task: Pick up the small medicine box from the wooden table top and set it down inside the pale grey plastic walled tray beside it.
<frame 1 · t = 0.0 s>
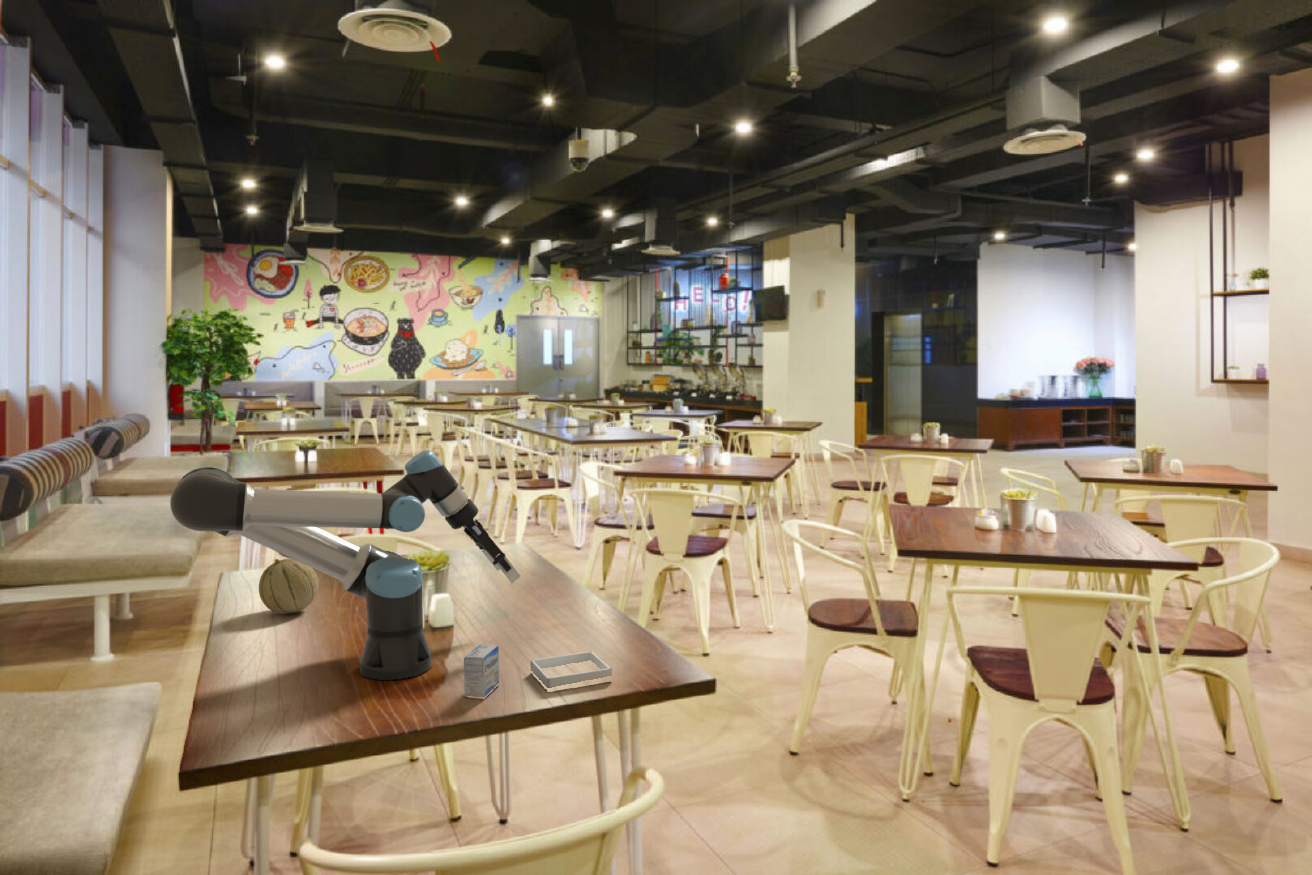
hand: (508, 573, 211), 15 cm above the table, tool tilted 35°, fingers open, 13 cm apart
cantaloupe: (289, 613, 229), on the table
medicine box: (482, 693, 175), on the table
walled tray: (570, 677, 182), on the table
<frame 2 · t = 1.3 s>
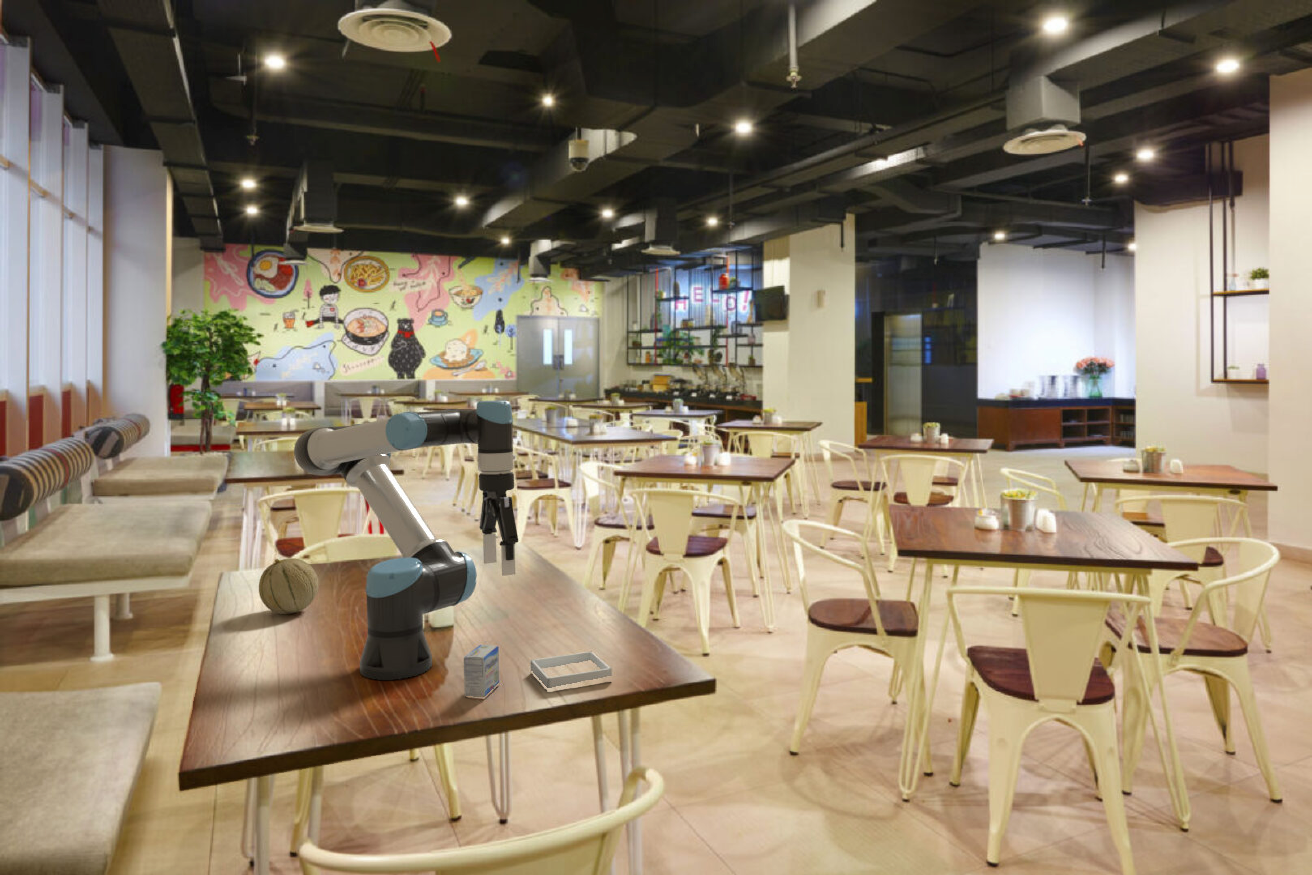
hand: (499, 568, 187), 22 cm above the table, tool pointing down, fingers open, 13 cm apart
nothing on the table moved.
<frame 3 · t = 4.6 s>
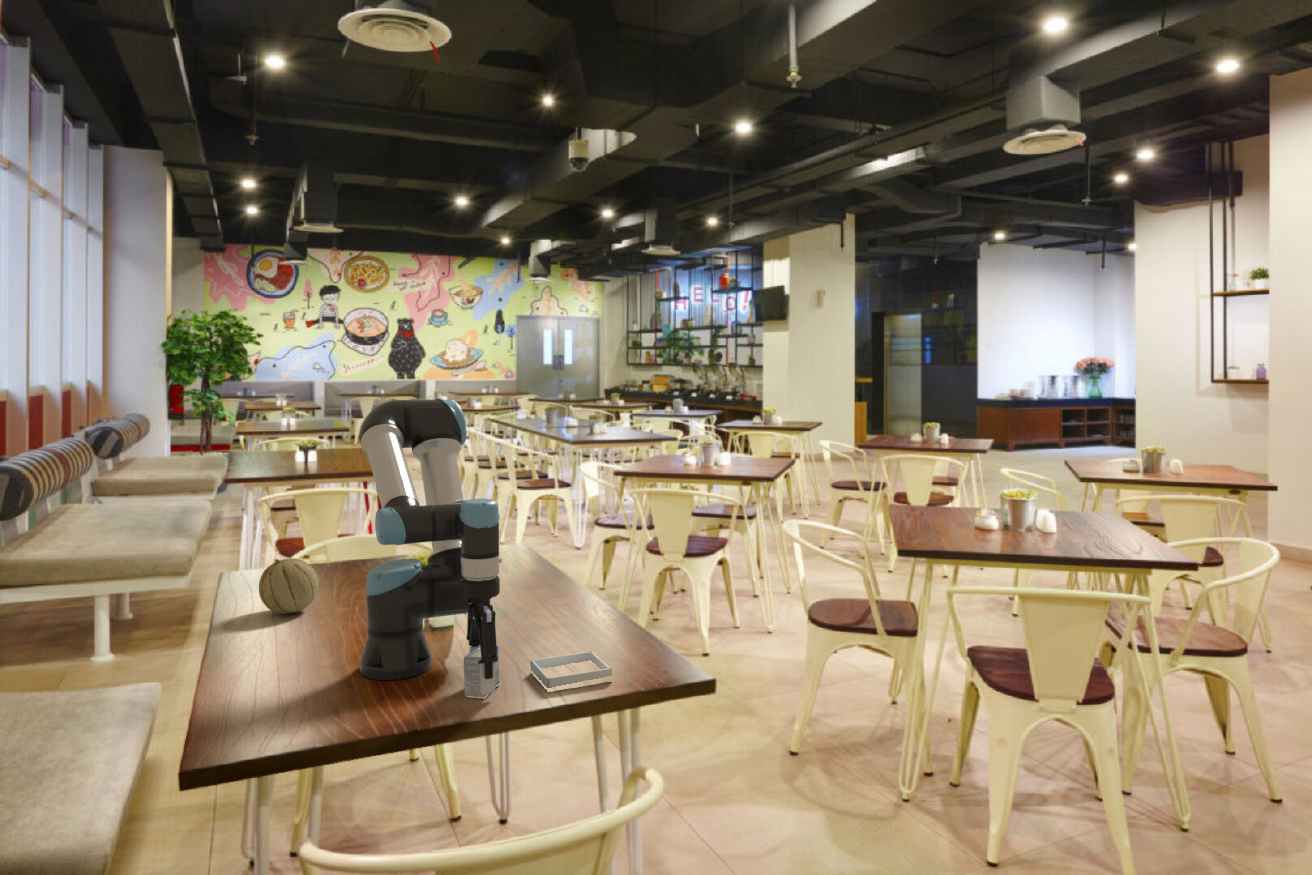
hand: (482, 684, 174), 1 cm above the table, tool pointing down, fingers closed on medicine box, 9 cm apart
medicine box: (482, 692, 175), on the table, touching gripper
everything else where it was.
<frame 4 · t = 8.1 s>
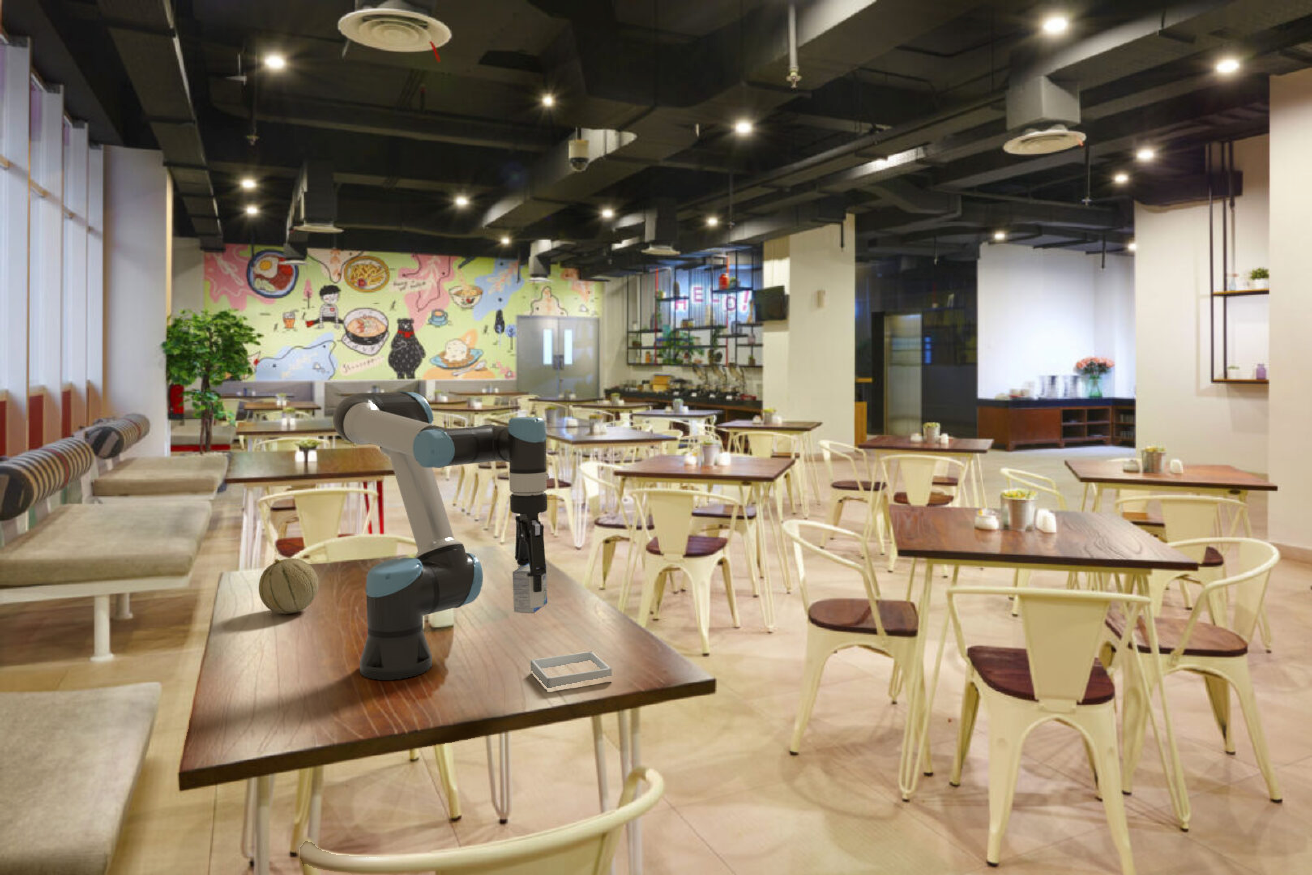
hand: (530, 601, 177), 18 cm above the table, tool pointing down, fingers closed on medicine box, 9 cm apart
medicine box: (530, 609, 177), point 16 cm above the table, touching gripper
everything else where it was.
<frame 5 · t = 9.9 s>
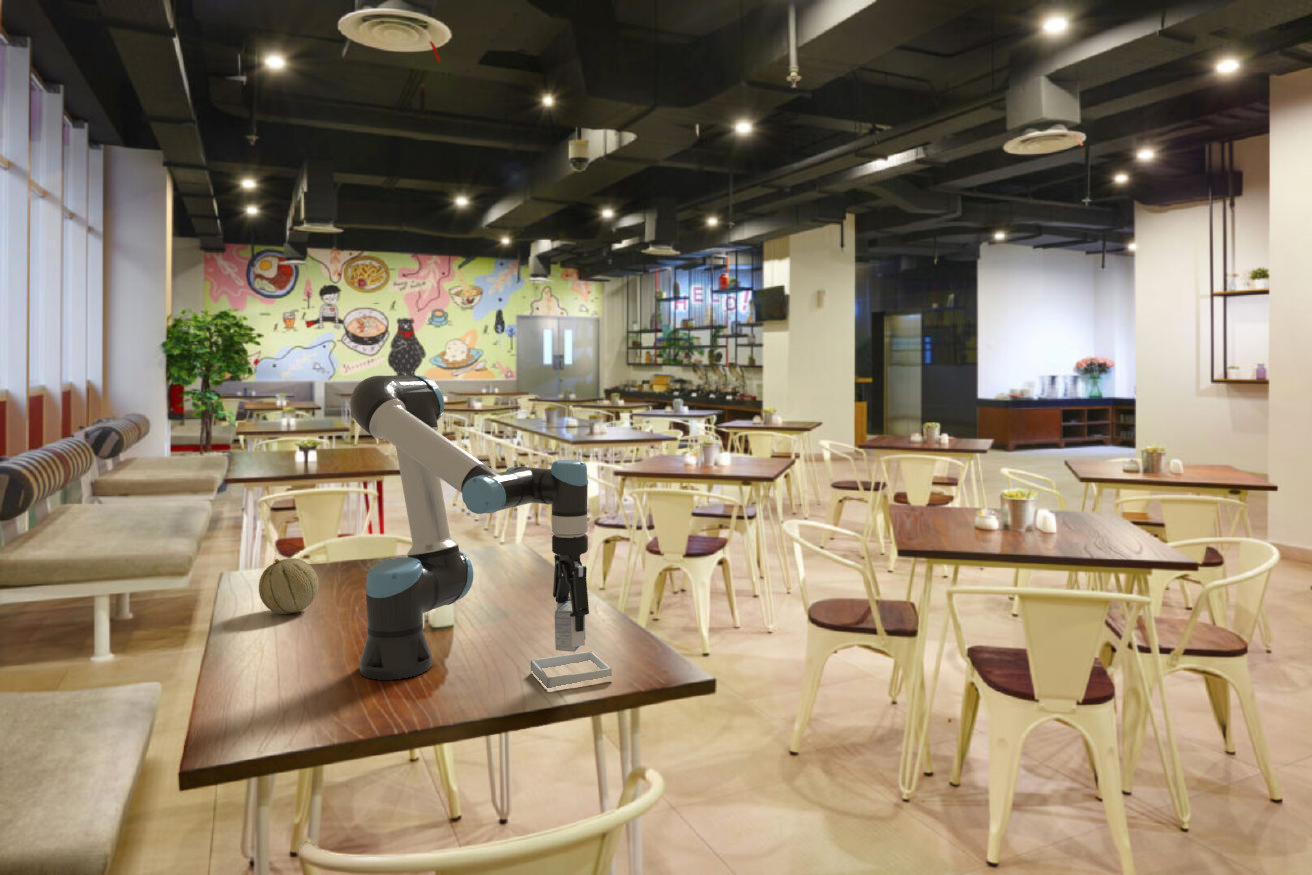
hand: (570, 638, 182), 9 cm above the table, tool pointing down, fingers closed on medicine box, 9 cm apart
medicine box: (570, 646, 182), point 7 cm above the table, touching gripper
everything else where it was.
when the fingers open (4 cm above the table, at t = 11.4 s): medicine box drops 2 cm, resting on walled tray.
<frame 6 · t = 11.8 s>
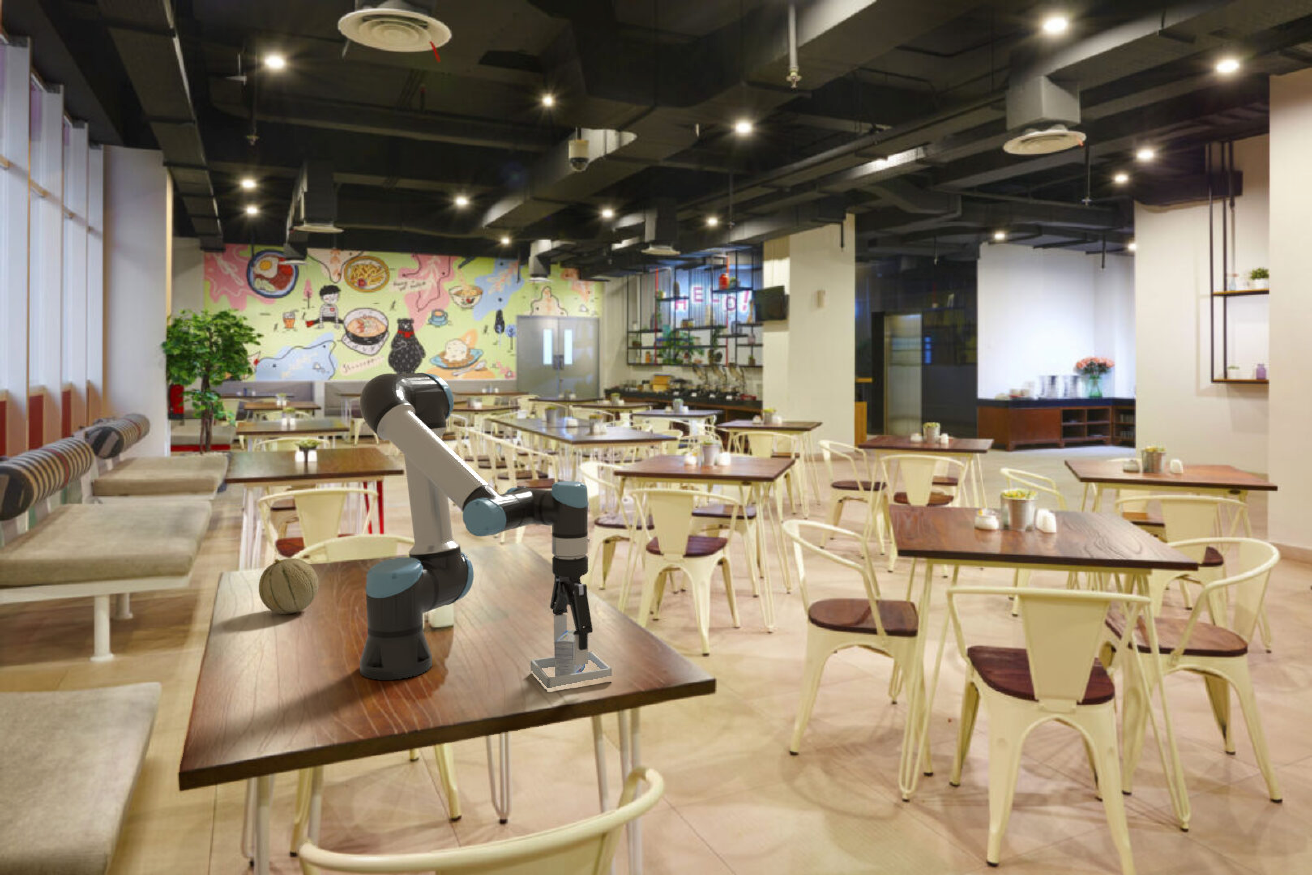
hand: (570, 653, 182), 5 cm above the table, tool pointing down, fingers open, 13 cm apart
medicine box: (570, 676, 182), resting on walled tray
everything else where it was.
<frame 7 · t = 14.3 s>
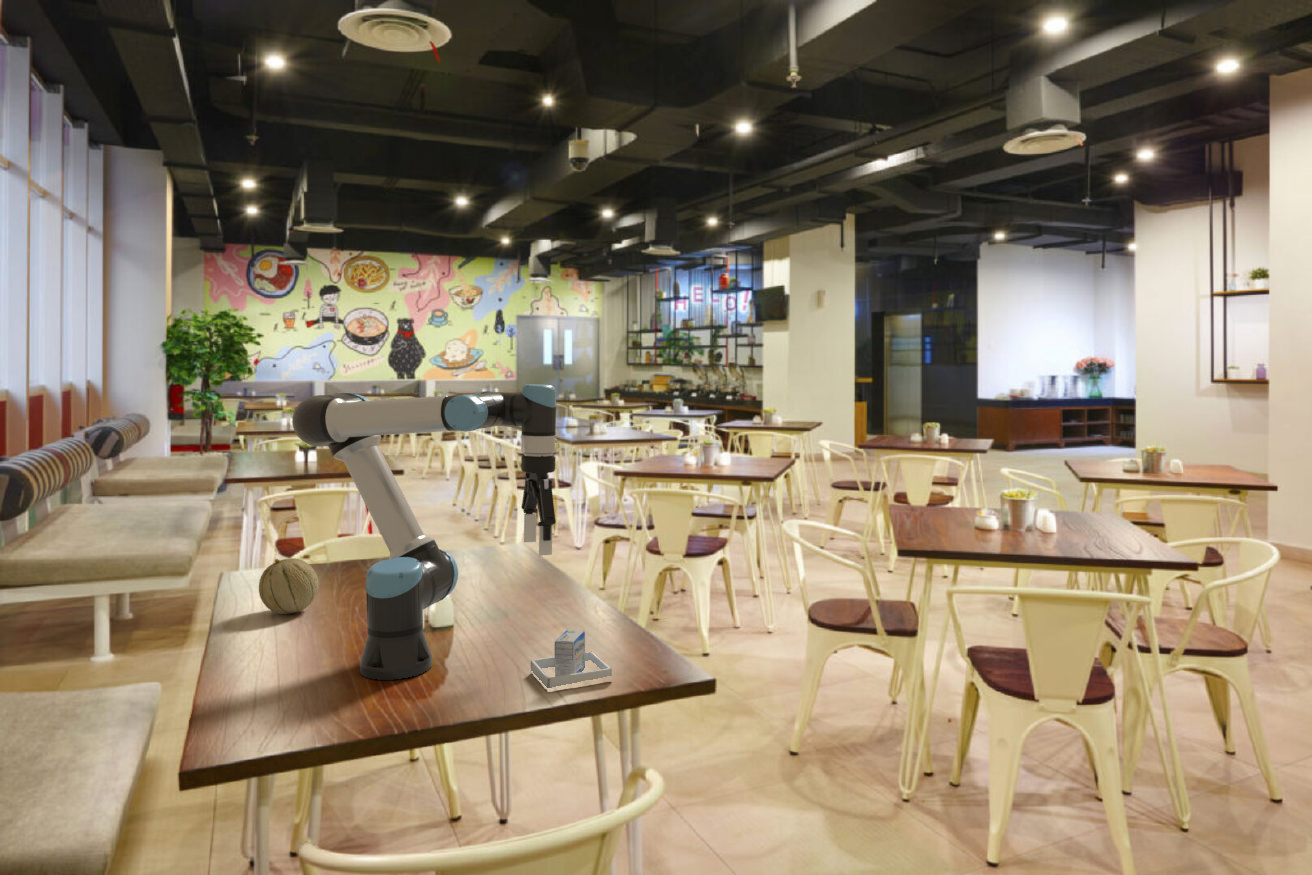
hand: (537, 548, 192), 25 cm above the table, tool pointing down, fingers open, 13 cm apart
nothing on the table moved.
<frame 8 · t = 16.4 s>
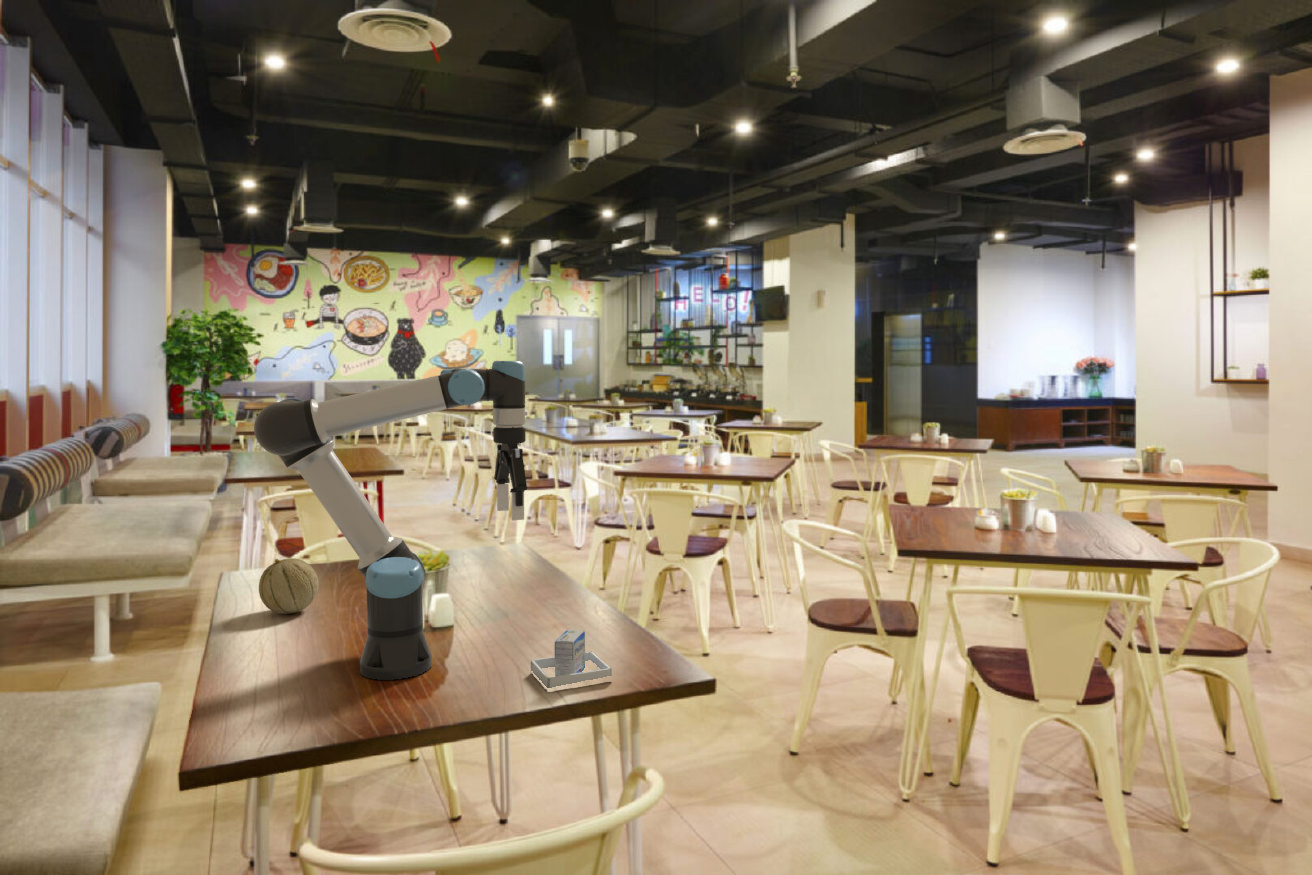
hand: (510, 515, 204), 31 cm above the table, tool pointing down, fingers open, 13 cm apart
nothing on the table moved.
at the end: medicine box inside the target area on the walled tray (0.1 cm from its centre), point 0.4 cm above the walled tray's base; the gripper is holding nothing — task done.
